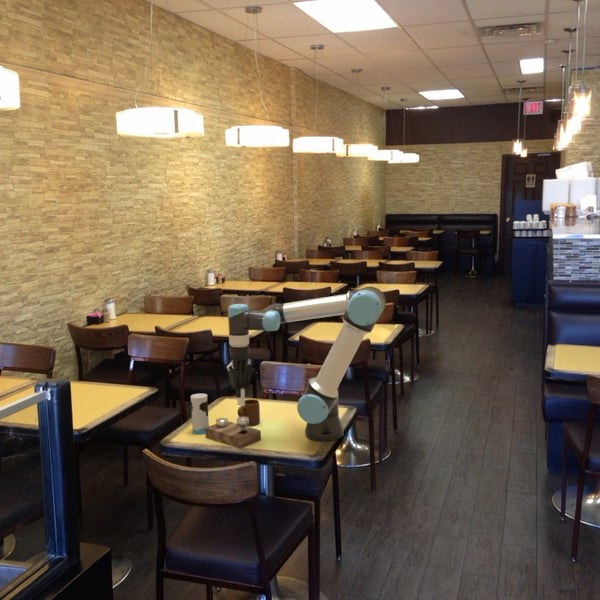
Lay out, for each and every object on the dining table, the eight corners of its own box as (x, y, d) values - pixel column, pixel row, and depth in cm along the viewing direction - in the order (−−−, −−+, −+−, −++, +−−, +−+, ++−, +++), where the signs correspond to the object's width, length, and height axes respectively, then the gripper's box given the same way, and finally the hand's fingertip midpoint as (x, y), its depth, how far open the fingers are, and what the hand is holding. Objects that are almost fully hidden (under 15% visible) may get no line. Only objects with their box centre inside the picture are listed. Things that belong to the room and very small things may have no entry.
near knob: (251, 433, 259) (251, 418, 258) (243, 436, 255) (242, 421, 254) (243, 430, 262) (242, 415, 261) (234, 433, 258) (234, 418, 257)
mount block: (261, 440, 260) (260, 430, 260) (240, 448, 252) (240, 438, 252) (226, 429, 273) (225, 420, 273) (205, 437, 265) (205, 427, 265)
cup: (212, 430, 273) (210, 394, 271) (201, 435, 268) (199, 399, 266) (200, 427, 277) (198, 392, 275) (189, 432, 272) (187, 396, 269)
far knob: (230, 433, 267) (230, 419, 266) (222, 437, 263) (221, 422, 263) (223, 431, 270) (222, 417, 269) (214, 434, 266) (213, 420, 266)
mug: (246, 430, 272) (245, 408, 270) (231, 427, 276) (230, 405, 274) (263, 422, 281) (262, 400, 280) (249, 419, 286) (248, 398, 284)
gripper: (244, 340, 260) (246, 399, 264) (219, 346, 251) (222, 407, 254) (258, 343, 256) (260, 402, 259) (233, 349, 246) (235, 411, 249)
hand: (241, 404), depth 257 cm, fingers closed
